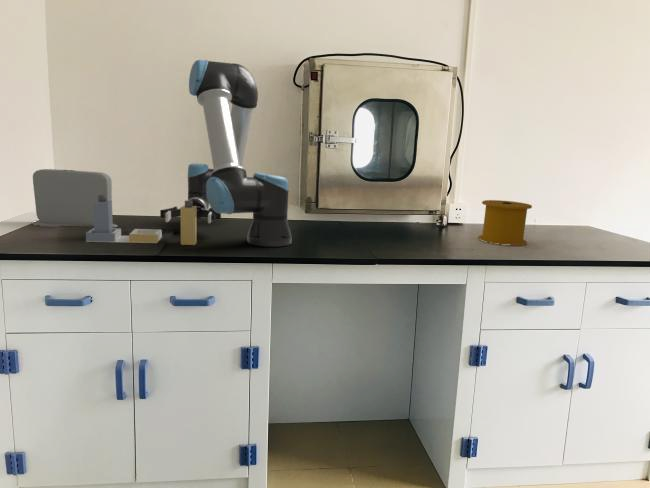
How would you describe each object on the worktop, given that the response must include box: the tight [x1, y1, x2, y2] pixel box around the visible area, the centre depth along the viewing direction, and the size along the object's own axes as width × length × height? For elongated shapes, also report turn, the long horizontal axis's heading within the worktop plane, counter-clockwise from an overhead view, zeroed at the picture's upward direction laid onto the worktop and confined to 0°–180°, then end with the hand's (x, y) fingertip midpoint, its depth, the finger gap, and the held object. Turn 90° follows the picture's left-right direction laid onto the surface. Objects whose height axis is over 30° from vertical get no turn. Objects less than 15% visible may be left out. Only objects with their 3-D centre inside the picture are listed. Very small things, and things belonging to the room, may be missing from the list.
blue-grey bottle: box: [93, 195, 114, 233], centre depth 167 cm, size 4×4×14 cm
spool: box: [477, 199, 533, 245], centre depth 201 cm, size 18×18×15 cm
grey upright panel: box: [31, 168, 119, 228], centre depth 189 cm, size 31×10×20 cm, turn 84°
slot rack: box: [85, 227, 163, 244], centre depth 169 cm, size 22×10×4 cm, turn 98°
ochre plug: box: [180, 199, 198, 246], centre depth 171 cm, size 4×4×14 cm
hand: (187, 218), depth 172 cm, fingers open, 13 cm apart
